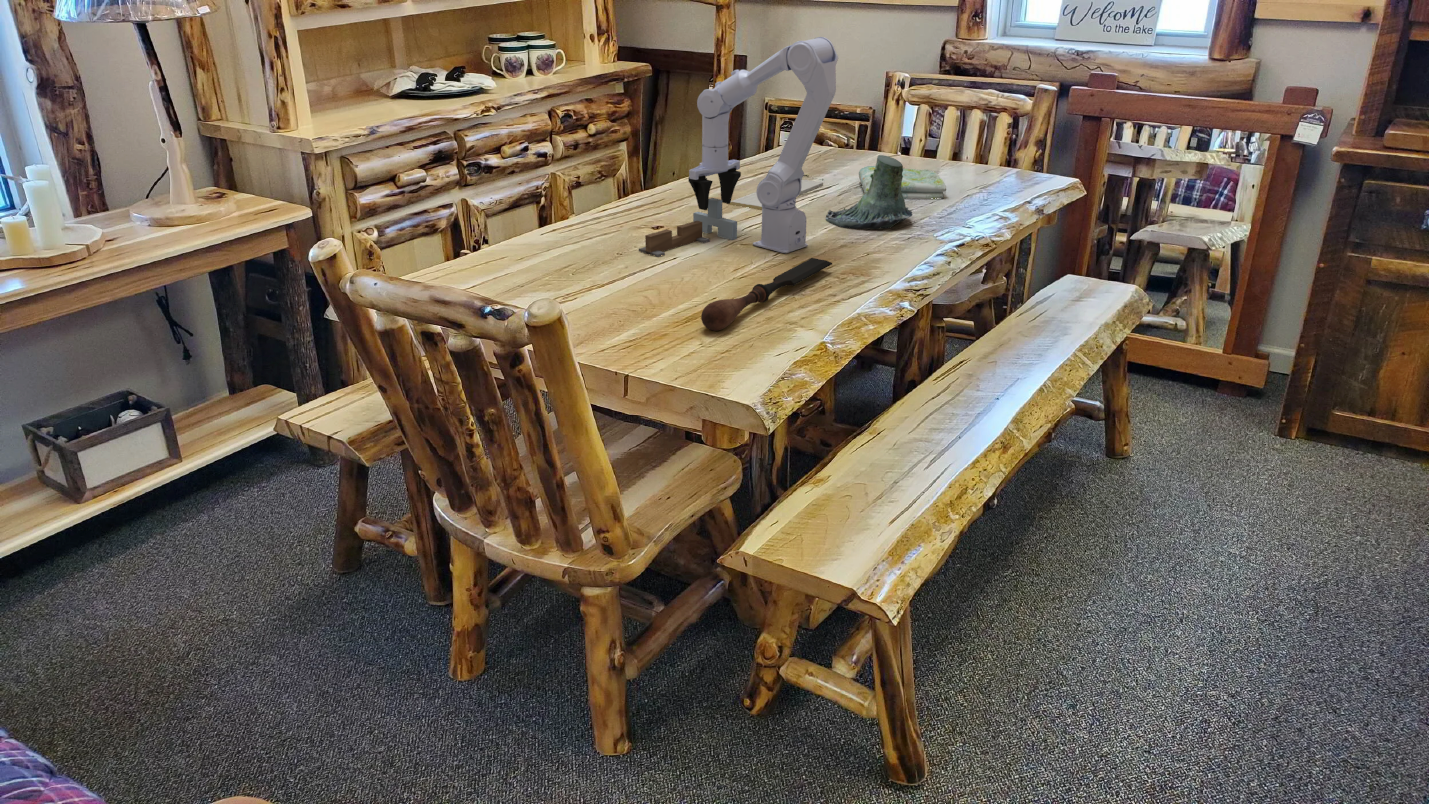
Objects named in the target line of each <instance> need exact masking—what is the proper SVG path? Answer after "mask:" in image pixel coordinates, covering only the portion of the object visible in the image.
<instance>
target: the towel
mask: <svg viewBox="0 0 1429 804" xmlns="http://www.w3.org/2000/svg"><path fill="white" fill-rule="evenodd" d="M875 167H876V165H865V166H864V167H862V168H861V169H859V171H858V177H859V178H858V179H859V181H860V184H861V187H862V190H863V193H864V194H865V193H866V192H868V190H869V187H870V184H871V181H872V178H871V177H870V175H871V174H872V173H874V169H875ZM902 176H903V178H902V184H901V193H902V195H903V198H904V200H938V199H937V198H942V199H944V193H945V192H947V186H946V183H945V181H944V180H943V179H942V178H941V176H940V175H939V173H937V172H936V171H934V170H930V169H916V168H915V169H914V168H903V172H902ZM864 194H863V195H864ZM931 198H933V199H931ZM935 198H936V199H935Z"/></svg>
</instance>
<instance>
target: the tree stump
mask: <svg viewBox="0 0 1429 804" xmlns="http://www.w3.org/2000/svg"><path fill="white" fill-rule="evenodd" d="M875 166H876V167H875V169H874V173H872V174H871V175H870V177H871V178H872V181H871V184H870V187H869V190H868V192H866V193H865V194H863V195H862V196H861V198H860V199H859V201H857V202H856V203H855V204H854V205H852V206H851V207H848V208H845V207H843V209H841V210H835V211H832V210H831V209H828V211H827V214H826V215H825V220H826V222H828V223H829V224H831V225H833V226H836V227H838V228H843V229H851V230H854V229H855V230H856V229H857V230H878V229H879V228H883V229H891V228H892V227H893V226H895V225H896V224H898V223H901V222H903V221H906V220H907V219H910V218H911V217H912V216H913V211H912V210H910V209H909V207H907V206H906V201H905V200H906V199H904V198H903V195H902V193H901V184H902V178H903V176H902V172H903V163H902V162H901V161H900V160H897V159H896V158H893V157H892V156H888V155H882V154H879V155H878V156H877V158H876V164H875ZM890 227H891V228H890ZM879 230H880V229H879Z"/></svg>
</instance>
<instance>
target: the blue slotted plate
mask: <svg viewBox="0 0 1429 804" xmlns="http://www.w3.org/2000/svg"><path fill="white" fill-rule="evenodd" d="M692 214H693V215H692V217H693V218H692V219H693V221H692V222H694V221H700V222H702V233H703V232H704V234H707V233H708V234H711V233H713V227H715V228H717V237H718V238H722V239H725V240H726V239H727V240H730V241H733V240H736V239H738V220H733V219H729V218H726V217H723V203H722V200H721V198H720V199H719V198H716V197H711V198H710V197H709V202H708V209H707V213H706V212H702V211H696V212H695V211H694V212H693V213H692Z"/></svg>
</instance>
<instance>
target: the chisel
mask: <svg viewBox="0 0 1429 804" xmlns="http://www.w3.org/2000/svg"><path fill="white" fill-rule="evenodd" d="M832 265H833V263H832V262H831V261H828V260H825V259H821V258H815V257H811V258H809V259H807V260H805V261H802V262H801V263H799V264H798V265H796V266H794V267H792V268H790V269H788V270H786V271H784V272H782V273H780V274H778V275H777V276H775V277H773V280H772V282H769V283H765V284H762V283H757V284H755V285H754V286H753V287H752V290H750V291H749V293H748V294H746V295H744V296H742V297H738V298H729V299H728V298H727V299H719V300H715V301H712V302H709V303H708V304H707V305H705V307H704V308H703V310H702V312H701V316H700V317H701V322H702V325H703V326H704V327H705V328H706V329H708V330H709V331H716V332H717V331H722V330H724V329H726V328H727V327H728V326H730V325H731V324H732V323H733V322H734V320H735V319H736V318H737V317H738V316H739V314H741V312H742V311H743V310H744V309H746V307H748V306H749V305H751V304H756V303H760V304H761V303H762V304H764V303H766V302H767V301H768V300H769V298H770V296H771V295H772V293H774V292H775V291H777V290H778V289H779V290H780V289H781V288H784V287H793V286H796V285H797V284H799V283H801V282H803V281H805V280H807V279H809V278H810V277H812V276H814V275H815V274H817V273H819V272H822V271H823V270H825V269H826V268H829V267H830V266H832Z"/></svg>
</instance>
